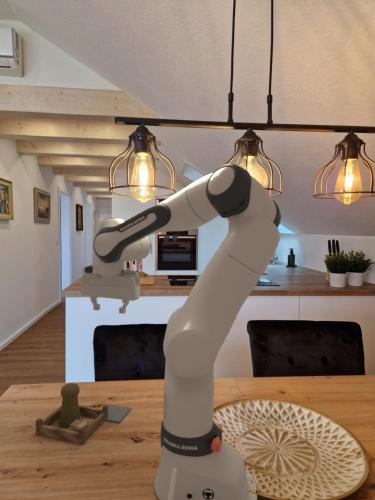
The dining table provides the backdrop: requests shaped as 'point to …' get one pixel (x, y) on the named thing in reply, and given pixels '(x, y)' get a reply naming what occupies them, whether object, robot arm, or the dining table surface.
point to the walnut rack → (69, 435)
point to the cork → (69, 405)
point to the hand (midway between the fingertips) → (109, 311)
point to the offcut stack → (78, 425)
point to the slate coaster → (116, 413)
